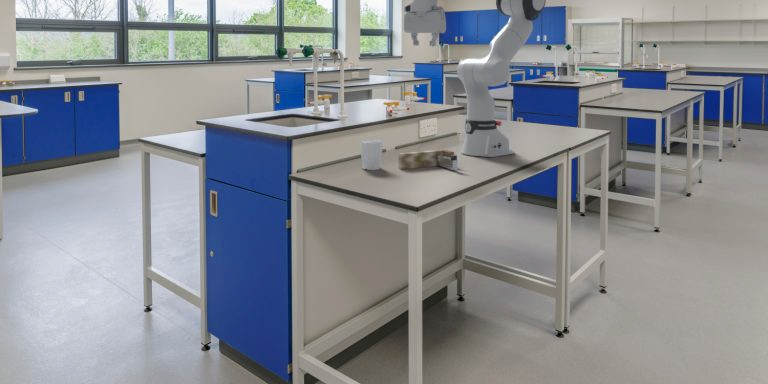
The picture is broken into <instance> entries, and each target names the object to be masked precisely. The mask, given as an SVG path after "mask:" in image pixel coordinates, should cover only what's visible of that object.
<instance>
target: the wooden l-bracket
mask: <svg viewBox="0 0 768 384" xmlns="http://www.w3.org/2000/svg"><path fill="white" fill-rule="evenodd" d="M437 155H444V156H446V157H449V158H451V155H455V151H453V150H448V149H446V148H445V149H435V150H433V149H432V150H423V151H412V152H409V151H408V152H399V153H398V165H397V166H398V169H399V170H406V169H417V168H427V167H436V166H437V167H438V165H437Z"/></svg>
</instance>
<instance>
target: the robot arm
mask: <svg viewBox="0 0 768 384" xmlns="http://www.w3.org/2000/svg"><path fill="white" fill-rule="evenodd" d="M546 2H547V1H546V0H495V5H496V9H497V11H498V13H499V14H501V15H503V16H507V17H509V19H508V21H507V23H506V24H505V25H504V26H503V27H502V28H501V29H500V31H498V33H497V34H496V35H495V36H494V37H493V38H492V40H491V41H490V42H489V44H488V45H489V52H488V54H487V55H486V56H483V57H480V56H479V57H478V56H477V57H476V56H475V57H474V56H472V57H468V58H464V59H462V60H461V61H459V63H458V65H457V68H456V69H457V70H456V74H457V77H458V79H459V80H460V81H461V83H462V85H463V88H464V90H465V95H466V119H465V124H464V129H465V133H464V142H463V146H462V148H461V151H460V152H461V154H463V155H467V156H472V157H473V156H474V157H489V158H495V157H501V156H507V155H513V154H514V155H515V154H516V153H515V150H513V149H511V148H510V141H509V138H508V137H507V136H506V135H505V134H504V133H502V132H501V131H500V130H499V129H498V127H497V126H499V127H502V124H503V122H502V120H495V106H496V105H495V104H496V103H495V99H494V98H493V97H492V95H491V93H490V91H489V87H499V86H503V85H504V84H506V83H507V82H508V80H509V78H510V74H511V69H510V63H511V61H512V60H513V58H514V57H515V56H516V55H517V53H518V52H519V51H520V49H522V47H523V46H524V45H525V43H526V42H527V40H528V39H529V37H530V36H531V34H532V32H533V30H534V25H533V21H536V20H537V19H538V18H539V15H541V13H542V12H543V10H544V8H545V5H546ZM403 11H404V16H403V30H404V33H406V34H410V37H411V40H412V45H413V46H419V45H420V40H418V34H431V40H430V41H429V46H430V47H436V45H437V43H436V42H437V40H438V38H439V34H445V33H446V31H447V20H446V14H445V13H446V11H445V8H443V6H438V0H412V2H410V3H408V4H407V5H405V6H404V7H403Z"/></svg>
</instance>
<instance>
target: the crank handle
mask: <svg viewBox="0 0 768 384" xmlns="http://www.w3.org/2000/svg"><path fill="white" fill-rule="evenodd" d="M458 161H459V160H458V156H457V155H456V154H454V155H451V158H449V157H446V156H444V155H437V165H438V166H439V167H442V168H446V169H448V170H451V171H457V170H458ZM438 166H437V167H438Z"/></svg>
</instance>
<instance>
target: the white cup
mask: <svg viewBox="0 0 768 384" xmlns="http://www.w3.org/2000/svg"><path fill="white" fill-rule="evenodd" d="M360 152H361V153H360V154H361V155H360V156H361V167H362V169H363V170H365V169H367V170H366V171H377V170H380V169H381V167H382V165H381V164H382V158H383V157H382V155H383V140H380V139H363V140H360Z"/></svg>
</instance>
